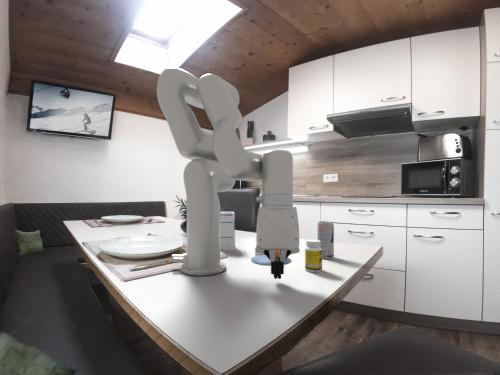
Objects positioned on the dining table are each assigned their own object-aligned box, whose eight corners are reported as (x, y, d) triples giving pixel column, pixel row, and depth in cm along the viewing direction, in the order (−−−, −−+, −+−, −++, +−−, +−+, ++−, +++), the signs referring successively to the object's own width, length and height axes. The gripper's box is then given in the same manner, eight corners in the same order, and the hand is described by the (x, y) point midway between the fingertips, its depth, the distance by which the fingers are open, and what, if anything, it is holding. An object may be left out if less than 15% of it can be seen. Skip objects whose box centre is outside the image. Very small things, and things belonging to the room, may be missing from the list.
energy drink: (335, 256, 90) (335, 222, 90) (331, 260, 85) (331, 223, 85) (320, 254, 92) (320, 221, 93) (315, 257, 88) (315, 222, 88)
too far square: (255, 254, 92) (255, 254, 92) (255, 248, 102) (255, 248, 102) (283, 255, 92) (283, 254, 92) (280, 249, 102) (280, 248, 102)
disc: (250, 265, 79) (250, 264, 79) (251, 255, 92) (251, 254, 92) (293, 265, 78) (293, 264, 78) (288, 255, 91) (288, 254, 91)
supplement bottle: (322, 273, 71) (322, 242, 71) (305, 272, 72) (305, 241, 72) (321, 268, 76) (321, 239, 76) (304, 267, 77) (304, 238, 77)
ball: (268, 245, 92) (268, 260, 89) (266, 238, 88) (266, 254, 85) (283, 245, 92) (284, 260, 88) (283, 238, 87) (283, 254, 84)
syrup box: (234, 250, 99) (234, 212, 100) (218, 250, 99) (218, 212, 100) (235, 247, 105) (235, 211, 105) (220, 247, 105) (220, 211, 105)
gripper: (246, 201, 60) (246, 282, 59) (311, 202, 60) (311, 282, 59) (247, 200, 67) (246, 272, 67) (304, 201, 67) (304, 272, 67)
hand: (277, 276), depth 63 cm, fingers closed
